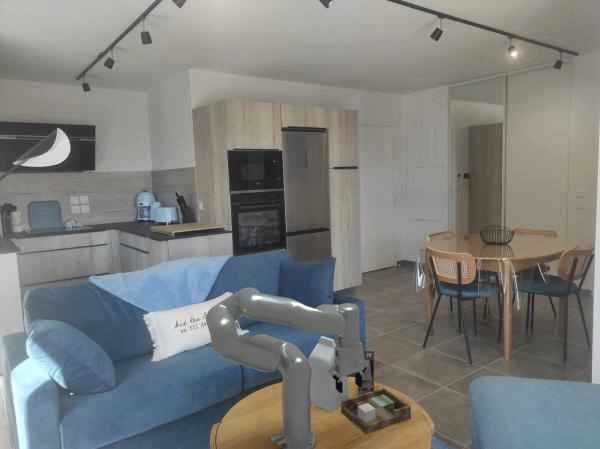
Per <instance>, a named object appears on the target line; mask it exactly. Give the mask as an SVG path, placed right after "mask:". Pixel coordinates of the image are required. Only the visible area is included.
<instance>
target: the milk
mask: <svg viewBox="0 0 600 449" xmlns="http://www.w3.org/2000/svg"><path fill="white" fill-rule="evenodd" d="M336 344H337V343H335V339H332V338H329V337H326V336H323V335H322V336H320V337H319V339H318V342H317V343H316V345H315V347H314V348H313V350H312V351H311V352H310V355H309V356H308V361H309V363H310V365H311V370H312V374H311V382H310V405H313V406H315V407H319V408H320V409H322V408H323V409H322V410H325V411H327V412H329V413H333V412H335V410H337V409H338V408H341V401H343V400H346V399H349V398H350V395H349V382H348V375H346V376H343V378H342V380H341V382H342V383H343V392H342V393H340V392H338V391H337V390H336V382H335V379H334V378H332V377H331V376H330V374H329V373H328V371H329V369H330V368H331V367H332V366H333V365H334V355H335V348H336ZM336 372H337V371H334V374H336ZM339 375H340V374H339ZM338 377H339V376H338Z"/></svg>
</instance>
